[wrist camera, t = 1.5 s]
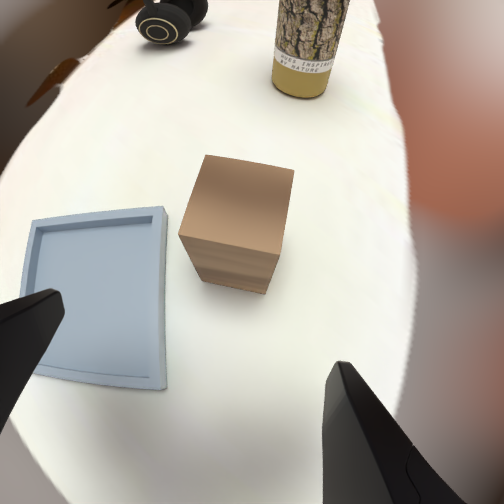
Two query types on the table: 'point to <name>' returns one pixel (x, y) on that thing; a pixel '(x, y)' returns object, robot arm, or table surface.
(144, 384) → the tray
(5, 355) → the robot arm
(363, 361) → the table surface
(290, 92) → the paper tube
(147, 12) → the headphones
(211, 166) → the walnut block
